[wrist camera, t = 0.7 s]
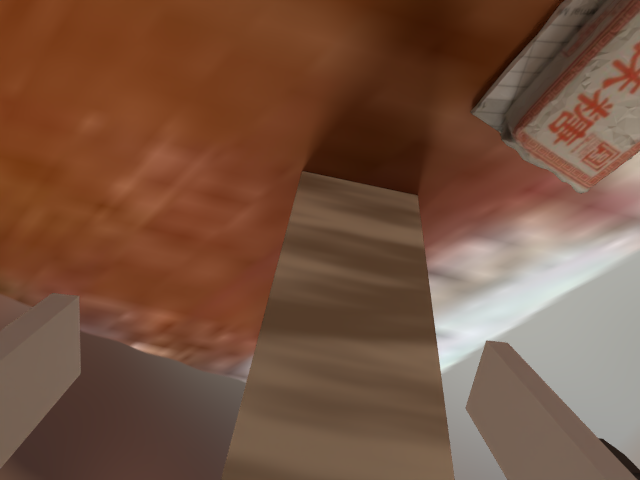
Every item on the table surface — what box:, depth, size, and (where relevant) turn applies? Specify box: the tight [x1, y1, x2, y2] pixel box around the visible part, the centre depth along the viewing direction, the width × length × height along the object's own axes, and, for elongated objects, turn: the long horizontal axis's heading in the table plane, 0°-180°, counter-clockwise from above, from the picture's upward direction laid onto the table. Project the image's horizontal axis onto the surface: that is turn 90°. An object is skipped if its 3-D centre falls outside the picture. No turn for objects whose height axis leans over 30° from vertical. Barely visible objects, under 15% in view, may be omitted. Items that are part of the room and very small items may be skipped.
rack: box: [221, 171, 455, 480], centre depth 30 cm, size 32×10×30 cm, turn 170°
